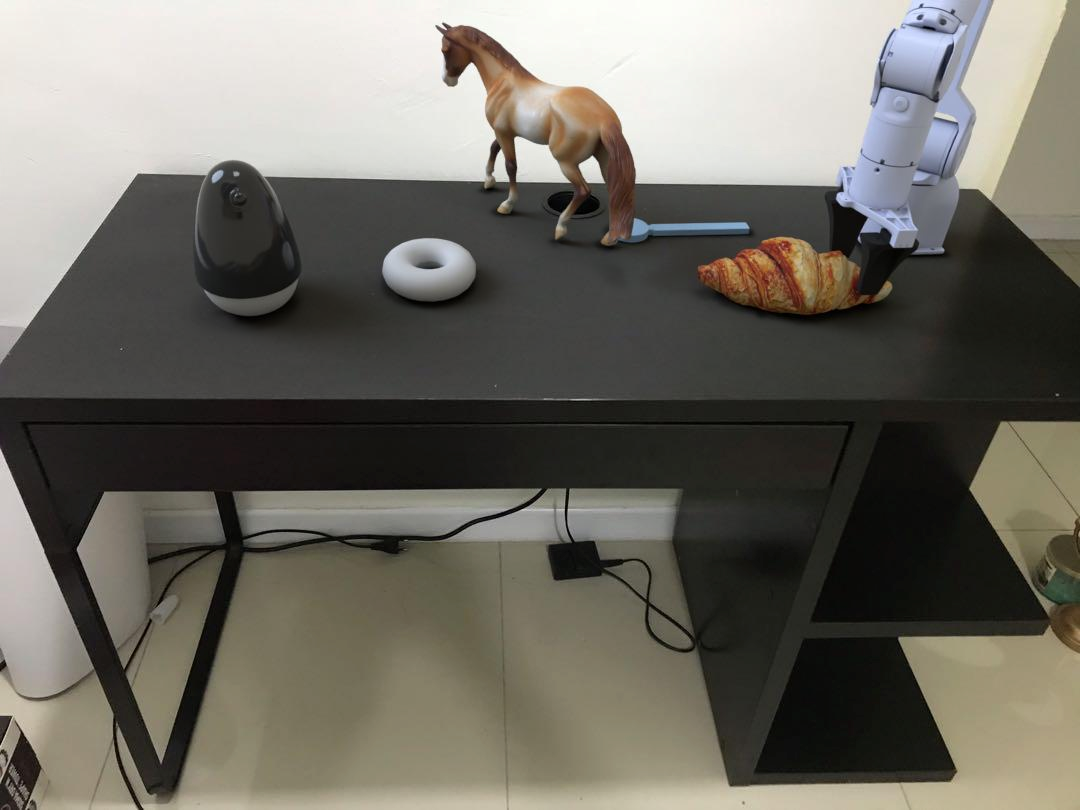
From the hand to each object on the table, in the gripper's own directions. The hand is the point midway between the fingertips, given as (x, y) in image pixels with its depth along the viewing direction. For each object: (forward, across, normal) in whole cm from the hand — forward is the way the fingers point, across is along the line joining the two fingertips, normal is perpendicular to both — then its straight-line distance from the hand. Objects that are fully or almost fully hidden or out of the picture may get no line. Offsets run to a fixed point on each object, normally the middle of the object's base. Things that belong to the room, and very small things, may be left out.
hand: (852, 274), depth 98 cm
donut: (+3, -6, -45) cm, 46 cm away
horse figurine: (+3, -17, -33) cm, 37 cm away
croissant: (+3, 0, -6) cm, 7 cm away
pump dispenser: (+3, -3, -63) cm, 64 cm away
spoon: (+3, -16, -15) cm, 22 cm away
